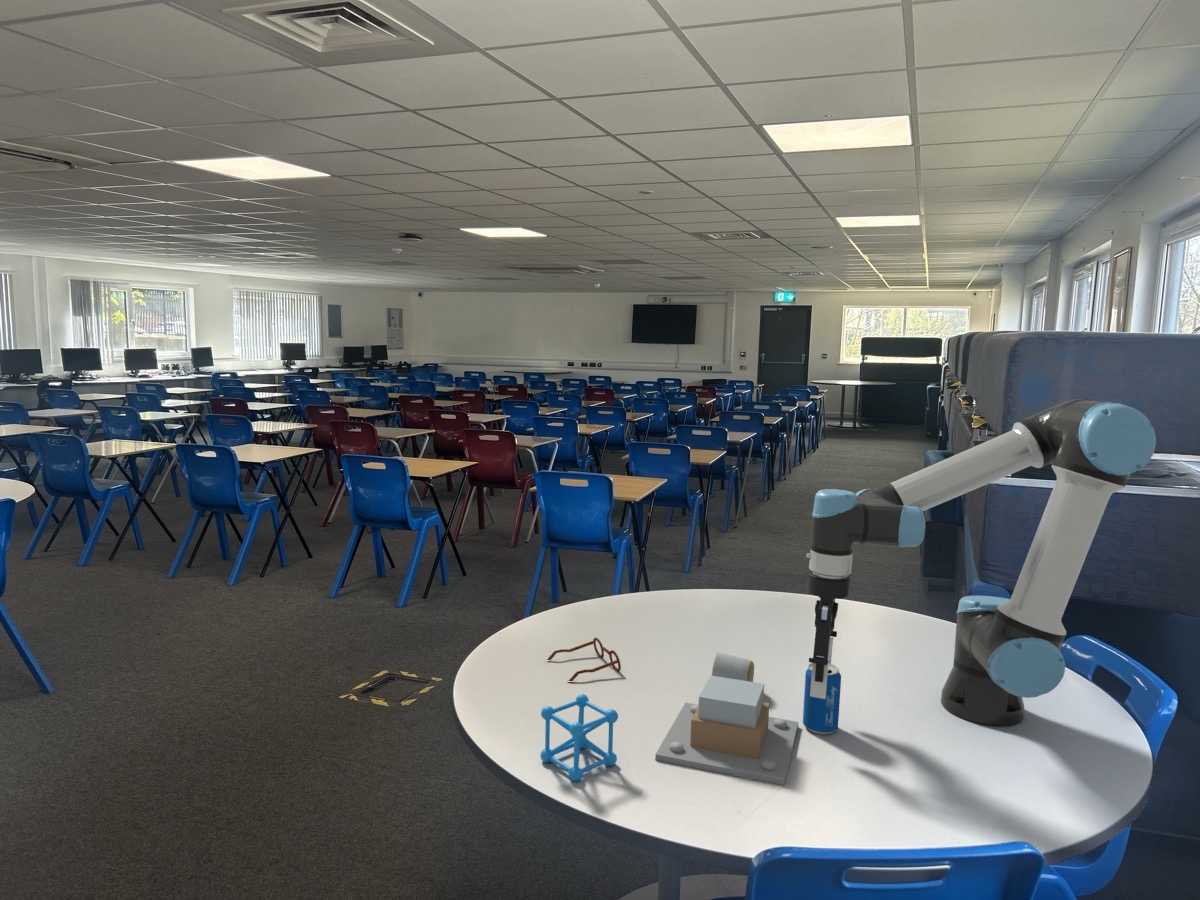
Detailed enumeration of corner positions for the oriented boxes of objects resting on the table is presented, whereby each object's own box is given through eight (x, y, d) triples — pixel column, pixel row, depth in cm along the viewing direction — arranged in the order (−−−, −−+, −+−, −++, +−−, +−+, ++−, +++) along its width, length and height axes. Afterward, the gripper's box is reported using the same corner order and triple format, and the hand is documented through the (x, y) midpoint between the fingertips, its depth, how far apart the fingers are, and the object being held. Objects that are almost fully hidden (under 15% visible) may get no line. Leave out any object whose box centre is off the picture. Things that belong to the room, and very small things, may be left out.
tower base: (797, 726, 152) (800, 676, 151) (784, 785, 132) (787, 727, 131) (685, 707, 160) (686, 659, 158) (655, 759, 139) (657, 705, 138)
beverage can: (813, 738, 148) (817, 676, 147) (796, 722, 154) (799, 662, 153) (844, 734, 150) (848, 673, 148) (826, 718, 156) (829, 660, 154)
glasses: (622, 675, 176) (622, 654, 175) (567, 685, 170) (567, 663, 169) (596, 654, 187) (596, 634, 187) (544, 663, 182) (544, 641, 181)
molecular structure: (581, 743, 145) (583, 690, 143) (619, 765, 137) (621, 710, 136) (537, 761, 138) (538, 706, 137) (574, 785, 131) (575, 727, 129)
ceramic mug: (749, 701, 163) (751, 664, 162) (709, 695, 166) (711, 659, 165) (755, 681, 173) (757, 647, 172) (717, 676, 176) (719, 642, 175)
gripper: (814, 555, 161) (806, 655, 164) (801, 588, 138) (793, 705, 141) (853, 559, 159) (844, 662, 161) (847, 594, 135) (837, 713, 138)
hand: (820, 682), depth 151 cm, fingers open, 13 cm apart
